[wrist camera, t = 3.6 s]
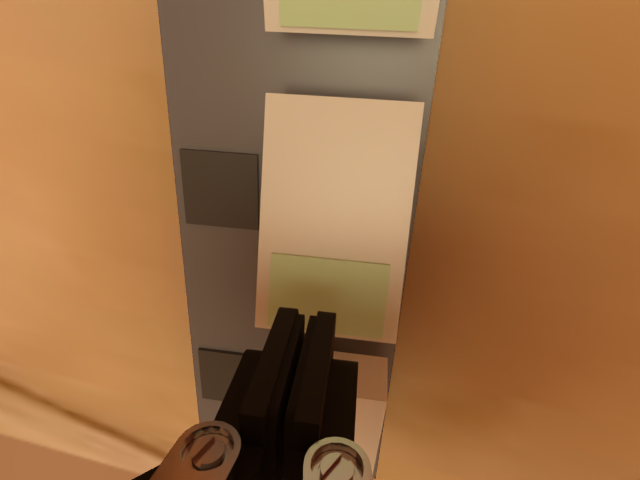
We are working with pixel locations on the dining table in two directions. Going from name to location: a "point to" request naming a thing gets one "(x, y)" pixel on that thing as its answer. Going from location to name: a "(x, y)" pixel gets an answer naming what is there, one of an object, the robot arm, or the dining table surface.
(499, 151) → the dining table surface
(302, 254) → the rocker middle
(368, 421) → the rocker
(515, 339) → the dining table surface
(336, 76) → the power strip
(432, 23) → the rocker
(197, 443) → the robot arm
